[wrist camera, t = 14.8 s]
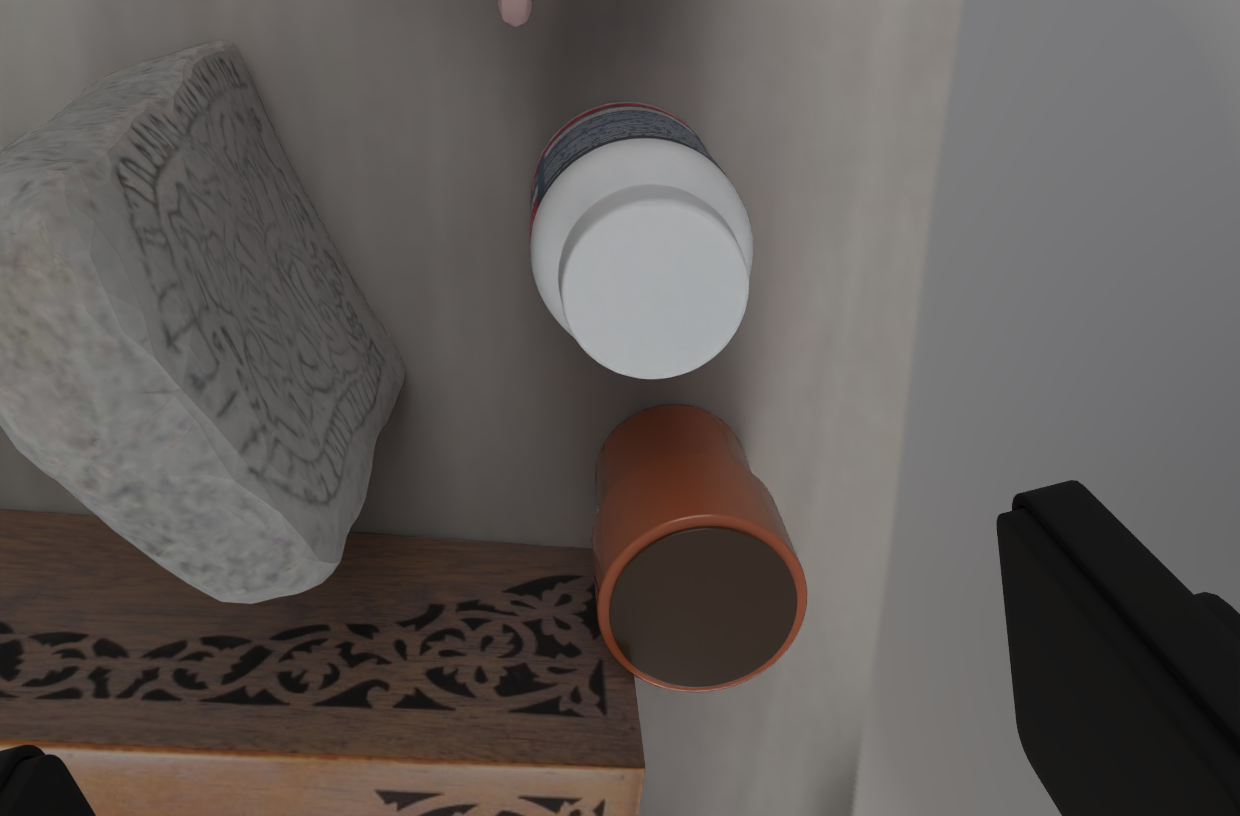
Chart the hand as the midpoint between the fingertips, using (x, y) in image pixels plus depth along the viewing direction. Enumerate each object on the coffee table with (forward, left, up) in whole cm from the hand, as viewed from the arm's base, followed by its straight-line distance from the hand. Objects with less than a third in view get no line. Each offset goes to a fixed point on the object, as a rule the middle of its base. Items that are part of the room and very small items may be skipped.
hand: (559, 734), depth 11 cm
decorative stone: (-1, -8, -22) cm, 24 cm away
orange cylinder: (+9, +2, -22) cm, 24 cm away
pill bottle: (0, +2, -22) cm, 22 cm away
